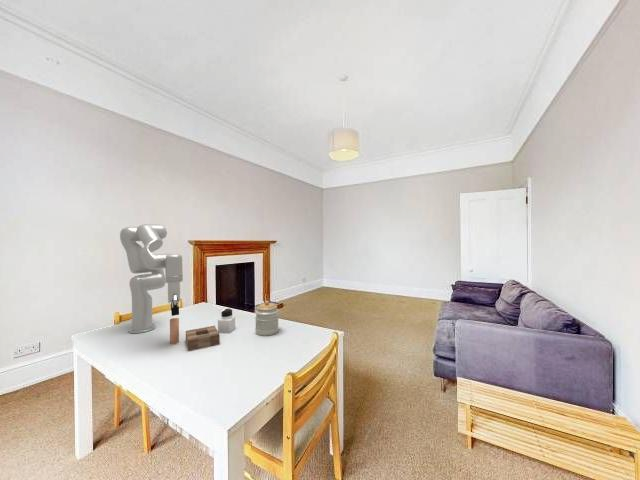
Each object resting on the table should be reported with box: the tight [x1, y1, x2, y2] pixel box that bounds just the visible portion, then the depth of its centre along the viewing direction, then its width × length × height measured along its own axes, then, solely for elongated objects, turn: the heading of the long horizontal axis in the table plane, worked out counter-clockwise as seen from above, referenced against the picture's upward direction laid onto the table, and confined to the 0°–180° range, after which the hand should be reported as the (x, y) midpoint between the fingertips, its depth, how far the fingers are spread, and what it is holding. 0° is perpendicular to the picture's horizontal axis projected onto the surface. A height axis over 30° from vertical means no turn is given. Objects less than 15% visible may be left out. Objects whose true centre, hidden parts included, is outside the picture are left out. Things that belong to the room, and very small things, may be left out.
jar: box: [254, 300, 280, 337], centre depth 140 cm, size 13×13×18 cm
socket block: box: [185, 325, 221, 352], centre depth 126 cm, size 14×14×5 cm
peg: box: [169, 317, 180, 345], centre depth 125 cm, size 4×4×12 cm
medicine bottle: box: [217, 308, 236, 334], centre depth 142 cm, size 7×7×12 cm
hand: (174, 312), depth 125 cm, fingers open, 9 cm apart
